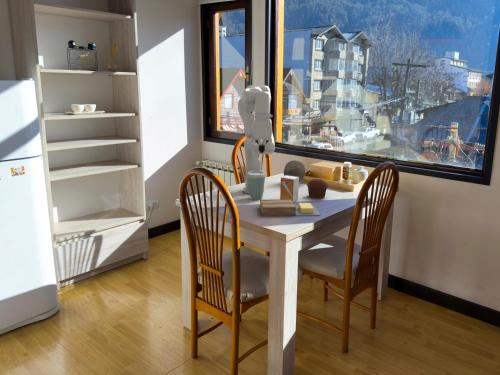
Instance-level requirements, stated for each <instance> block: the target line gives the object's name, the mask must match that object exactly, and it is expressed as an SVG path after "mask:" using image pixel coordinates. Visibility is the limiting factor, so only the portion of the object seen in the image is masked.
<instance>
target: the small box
mask: <svg viewBox="0 0 500 375" xmlns="http://www.w3.org/2000/svg"><path fill="white" fill-rule="evenodd" d="M299 185H300V182H299V177H294V176H287V175H286V176H284V175H283V176H281V177H280V191H279V192H280V193H279V194H280V195H279V199H291V200H292V202H293V203H295V202H298V201H299V189H300V188H299V187H300V186H299Z"/></svg>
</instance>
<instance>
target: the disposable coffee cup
mask: <svg viewBox="0 0 500 375" xmlns="http://www.w3.org/2000/svg"><path fill="white" fill-rule="evenodd" d="M246 177H247V180H248V186H249V193H250V194H249V197H250V200H253V201H260V200H263V197H264V196H263V195H264V192H263V189H264V190H265V188H264V187H265V180H266V177H267V176H266V173H265V171H263V170H262V171H259V170H253V171H249V172H248V173H247V175H246V174H245V178H246Z"/></svg>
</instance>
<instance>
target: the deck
mask: <svg viewBox="0 0 500 375" xmlns="http://www.w3.org/2000/svg"><path fill="white" fill-rule="evenodd" d="M259 201H260V202H259V208H260V211H261V214H262V217H263V216H296V207H295V205H296V204H295V202H292V200H291V199H280V198H279V199H275V198H274V199H272V198H271V199H260V200H259Z"/></svg>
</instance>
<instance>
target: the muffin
mask: <svg viewBox="0 0 500 375" xmlns="http://www.w3.org/2000/svg"><path fill="white" fill-rule="evenodd" d="M306 186H307V190H308V191H307V192H308V197H309V198H311V199H315V200H316V199H317V200H318V199H319V200H320V199H324V198H325V197H326V194H327V189H328V186H329V185H328V183H327V181H325V180H324V179H321V178H313V179H311V180H309V181H308V183H307V184H306Z"/></svg>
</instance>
